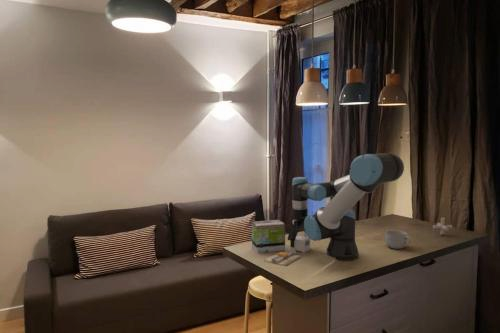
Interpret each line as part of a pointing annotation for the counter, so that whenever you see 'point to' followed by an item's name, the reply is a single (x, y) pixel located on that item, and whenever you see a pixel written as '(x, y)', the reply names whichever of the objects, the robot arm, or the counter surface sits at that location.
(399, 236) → the teacup
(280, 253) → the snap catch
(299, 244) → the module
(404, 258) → the counter surface
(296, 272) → the counter surface
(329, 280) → the counter surface
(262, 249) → the tea box
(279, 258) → the rail board
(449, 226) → the pipe connector
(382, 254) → the counter surface
